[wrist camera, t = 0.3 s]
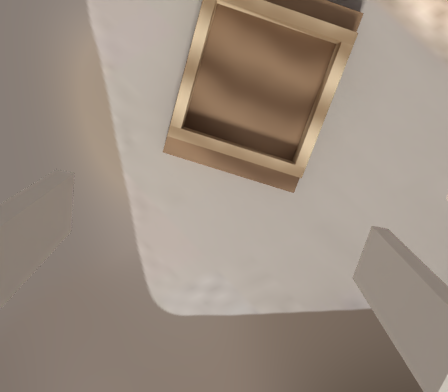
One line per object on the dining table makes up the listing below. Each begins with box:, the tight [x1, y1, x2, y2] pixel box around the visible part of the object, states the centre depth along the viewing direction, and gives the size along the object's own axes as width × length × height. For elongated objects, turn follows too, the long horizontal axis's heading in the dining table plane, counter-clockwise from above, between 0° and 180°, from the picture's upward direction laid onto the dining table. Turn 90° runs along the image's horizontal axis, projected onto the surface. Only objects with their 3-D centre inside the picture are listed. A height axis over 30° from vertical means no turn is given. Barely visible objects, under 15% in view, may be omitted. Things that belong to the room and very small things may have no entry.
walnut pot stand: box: [163, 0, 363, 193], centre depth 38 cm, size 20×16×4 cm
